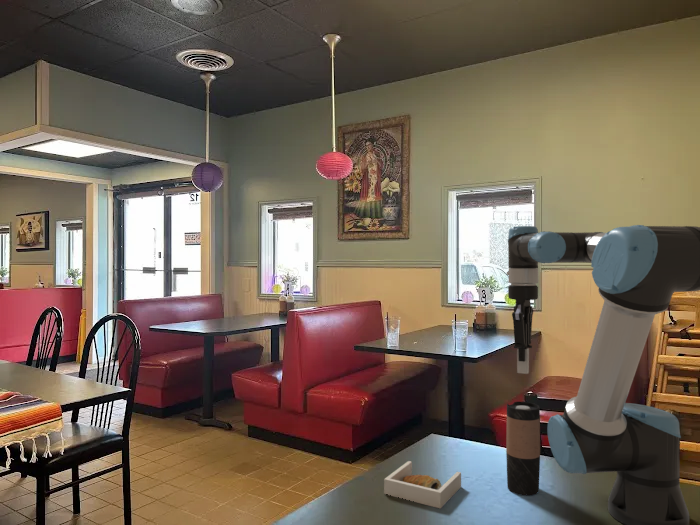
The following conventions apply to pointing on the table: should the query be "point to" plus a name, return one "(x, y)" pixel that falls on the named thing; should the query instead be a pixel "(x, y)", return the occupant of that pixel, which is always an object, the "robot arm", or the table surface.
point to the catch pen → (420, 488)
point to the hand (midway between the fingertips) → (522, 372)
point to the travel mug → (523, 448)
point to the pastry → (423, 481)
